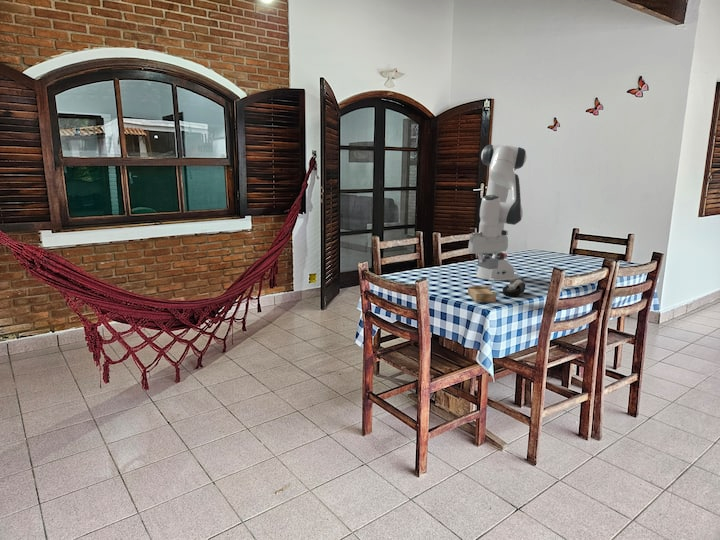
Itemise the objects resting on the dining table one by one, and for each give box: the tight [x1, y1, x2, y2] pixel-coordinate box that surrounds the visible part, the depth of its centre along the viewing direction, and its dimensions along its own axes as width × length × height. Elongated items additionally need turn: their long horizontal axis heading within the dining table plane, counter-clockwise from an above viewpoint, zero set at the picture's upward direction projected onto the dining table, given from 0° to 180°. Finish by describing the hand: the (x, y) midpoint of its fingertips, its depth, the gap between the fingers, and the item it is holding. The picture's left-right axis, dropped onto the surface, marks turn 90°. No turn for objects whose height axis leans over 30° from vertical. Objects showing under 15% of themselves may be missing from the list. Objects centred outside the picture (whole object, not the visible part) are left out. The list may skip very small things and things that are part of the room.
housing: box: [477, 255, 498, 269], centre depth 226 cm, size 8×5×5 cm, turn 26°
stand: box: [467, 285, 497, 303], centre depth 230 cm, size 9×14×4 cm, turn 3°
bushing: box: [483, 284, 493, 292], centre depth 242 cm, size 4×4×3 cm
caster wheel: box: [502, 277, 526, 298], centre depth 237 cm, size 7×11×10 cm
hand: (487, 261), depth 227 cm, fingers closed on housing, 5 cm apart
